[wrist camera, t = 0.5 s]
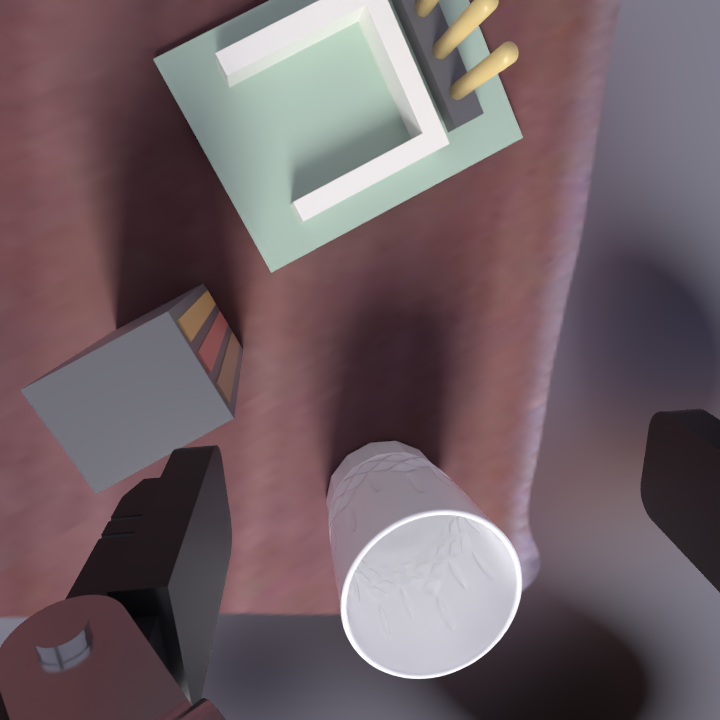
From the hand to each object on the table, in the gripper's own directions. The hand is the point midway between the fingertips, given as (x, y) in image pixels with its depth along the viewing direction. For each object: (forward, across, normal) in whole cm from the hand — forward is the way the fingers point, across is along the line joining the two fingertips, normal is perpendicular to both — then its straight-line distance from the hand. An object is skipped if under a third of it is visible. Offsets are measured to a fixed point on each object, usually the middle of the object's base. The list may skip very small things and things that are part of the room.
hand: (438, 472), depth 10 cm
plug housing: (+20, +9, +3) cm, 22 cm away
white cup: (+20, -1, +13) cm, 24 cm away
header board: (+22, 0, -8) cm, 23 cm away
